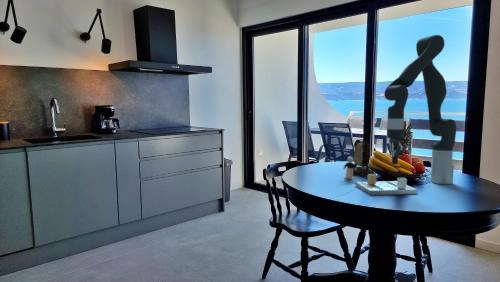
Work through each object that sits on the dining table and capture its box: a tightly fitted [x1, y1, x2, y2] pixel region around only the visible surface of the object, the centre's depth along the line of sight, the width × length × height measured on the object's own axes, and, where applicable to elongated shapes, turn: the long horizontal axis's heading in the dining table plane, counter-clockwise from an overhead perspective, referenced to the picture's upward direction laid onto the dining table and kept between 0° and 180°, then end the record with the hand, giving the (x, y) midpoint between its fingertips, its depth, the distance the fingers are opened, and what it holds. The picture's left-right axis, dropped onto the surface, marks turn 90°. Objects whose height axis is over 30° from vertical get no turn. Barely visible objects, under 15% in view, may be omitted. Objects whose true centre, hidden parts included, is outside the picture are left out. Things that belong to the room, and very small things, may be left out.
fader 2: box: [396, 177, 408, 189], centre depth 152 cm, size 3×3×5 cm
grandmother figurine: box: [343, 156, 358, 181], centre depth 181 cm, size 8×4×13 cm, turn 62°
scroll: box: [353, 139, 375, 177], centre depth 194 cm, size 15×15×20 cm
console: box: [355, 180, 418, 196], centre depth 158 cm, size 22×17×2 cm
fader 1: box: [366, 173, 377, 184], centre depth 161 cm, size 3×3×5 cm
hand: (394, 163), depth 159 cm, fingers closed
